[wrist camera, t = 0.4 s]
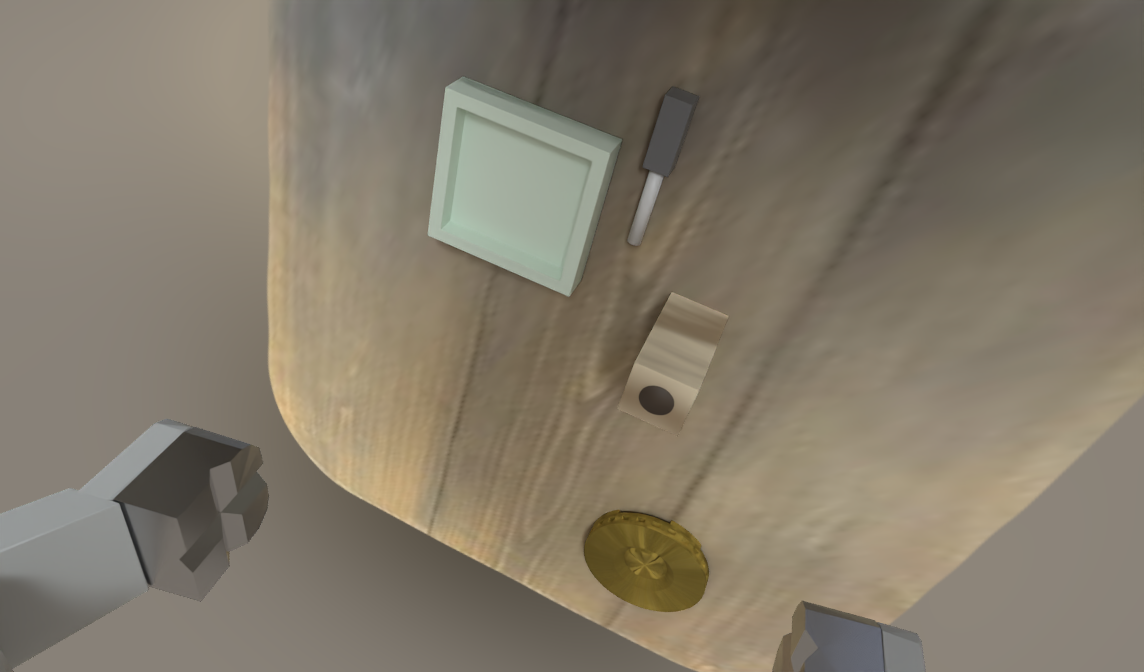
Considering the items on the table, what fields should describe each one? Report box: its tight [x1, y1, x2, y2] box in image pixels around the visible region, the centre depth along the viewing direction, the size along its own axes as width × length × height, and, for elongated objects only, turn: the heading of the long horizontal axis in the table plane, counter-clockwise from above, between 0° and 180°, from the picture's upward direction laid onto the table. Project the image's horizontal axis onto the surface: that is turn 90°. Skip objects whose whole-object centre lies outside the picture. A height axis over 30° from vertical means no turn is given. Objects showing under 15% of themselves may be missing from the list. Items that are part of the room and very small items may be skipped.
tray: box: [428, 76, 623, 297], centre depth 54 cm, size 12×12×2 cm
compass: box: [584, 510, 709, 612], centre depth 73 cm, size 12×12×2 cm
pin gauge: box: [627, 87, 700, 246], centre depth 50 cm, size 11×2×2 cm, turn 167°
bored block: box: [617, 292, 729, 437], centre depth 54 cm, size 5×4×9 cm
